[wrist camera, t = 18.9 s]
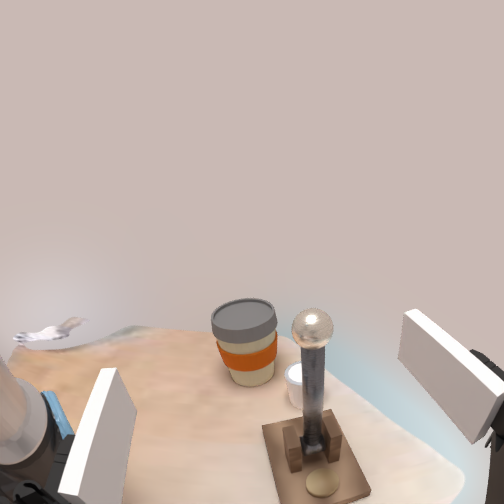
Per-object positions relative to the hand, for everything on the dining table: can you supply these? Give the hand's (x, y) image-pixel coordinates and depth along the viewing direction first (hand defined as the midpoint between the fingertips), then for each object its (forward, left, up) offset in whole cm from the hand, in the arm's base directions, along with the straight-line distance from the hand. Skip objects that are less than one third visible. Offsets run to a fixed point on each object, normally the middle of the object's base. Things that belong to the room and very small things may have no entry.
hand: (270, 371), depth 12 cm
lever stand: (+6, +15, -34) cm, 38 cm away
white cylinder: (+9, +30, -34) cm, 46 cm away
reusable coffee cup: (+1, +41, -34) cm, 53 cm away
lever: (+6, +15, -30) cm, 34 cm away
